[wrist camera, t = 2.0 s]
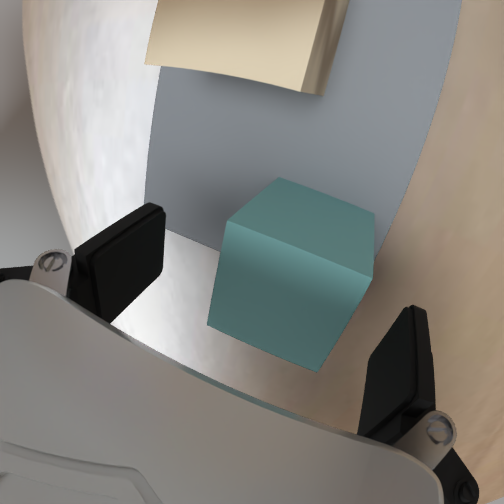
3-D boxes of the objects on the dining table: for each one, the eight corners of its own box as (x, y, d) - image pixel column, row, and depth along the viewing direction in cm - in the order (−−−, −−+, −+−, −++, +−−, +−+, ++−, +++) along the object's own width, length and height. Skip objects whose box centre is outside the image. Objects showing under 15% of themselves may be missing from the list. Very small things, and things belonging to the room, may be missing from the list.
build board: (352, 295, 18) (350, 305, 17) (152, 213, 20) (143, 219, 20) (458, -2, 8) (463, -8, 7) (202, -51, 11) (193, -56, 10)
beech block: (323, 96, 12) (300, 91, 8) (207, 69, 14) (144, 64, 9) (353, -15, 9) (341, -64, 5) (233, -31, 10) (179, -67, 6)
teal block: (338, 292, 17) (317, 372, 12) (256, 258, 18) (206, 324, 13) (374, 213, 14) (372, 278, 9) (279, 176, 15) (227, 220, 10)
